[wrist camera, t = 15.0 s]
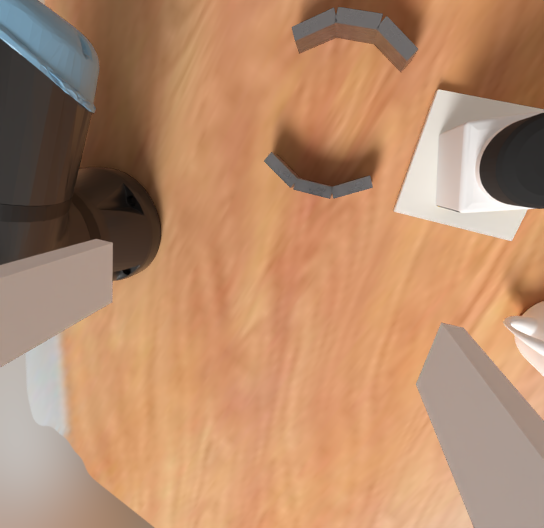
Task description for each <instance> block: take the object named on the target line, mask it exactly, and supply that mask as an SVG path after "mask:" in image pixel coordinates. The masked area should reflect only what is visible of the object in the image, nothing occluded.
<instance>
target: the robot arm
mask: <svg viewBox="0 0 544 528" xmlns="http://www.w3.org/2000/svg"><path fill="white" fill-rule="evenodd" d="M98 75H99V59H98V56H97V53H96V51H95V49H94V47H93V46H92V44H91V43H90V42H89V40H88V39H87V38H86V37H85V36H84V35H83V34H82V33H81V32H80V31H78V30H77V29H76V28H75V27H73V26H72V25H71V24H69V23H68V22H67V21H66V20H64V19H63V18H62V17H60V16H59V15H57V14H56V13H55V12H53V11H52V10H51V9H49V8H48V7H47V6H45V5H44V4H42V3H41V2H40V1H38V0H0V367H2V366H4V365H5V364H7V363H9V362H11V361H12V360H14V359H15V358H17V357H19V356H21V355H23V354H24V353H26V352H28V351H29V350H31V349H33V348H35V347H36V346H38V345H40V344H41V343H43V342H45V341H47V340H48V339H50V338H52V337H53V336H55V335H57V334H59V333H60V332H62V331H64V330H65V329H67V328H69V327H70V326H72V325H74V324H76V323H77V322H79V321H81V320H82V319H84V318H86V317H88V316H89V315H91V314H93V313H94V312H96V311H98V310H100V309H101V308H103V307H105V306H106V305H108V304H110V303H112V281H116V280H122V279H125V278H128V277H130V276H133V275H135V274H137V273H139V272H141V271H143V270H144V269H145V268H146V267H148V266H149V264H150V263H151V262H152V261H153V259H154V258H155V256H156V253H157V251H158V248H159V244H160V236H161V230H160V221H159V217H158V213H157V210H156V208H155V205H154V203H153V201H152V199H151V198H150V196H149V195H148V193H147V192H146V190H145V189H144V188H143V187H142V186H141V185H140V184H139V183H138V182H137V181H136V180H135V179H133V178H132V177H131V176H129V175H127V174H126V173H124V172H121V171H119V170H116V169H112V168H101V167H88V168H82V169H79V166H80V162H81V158H82V153H83V149H84V145H85V140H86V136H87V131H88V127H89V123H90V118H91V114H92V113H95V110H96V108H95V106H94V98H95V92H96V87H97V81H98ZM416 386H417V388H418V391H419V393H420V395H421V398H422V400H423V403H424V405H425V408H426V410H427V413H428V415H429V418H430V420H431V423H432V425H433V428H434V430H435V433H436V435H437V438H438V440H439V443H440V445H441V447H442V450H443V452H444V455H445V457H446V460H447V462H448V465H449V467H450V470H451V472H452V475H453V477H454V480H455V482H456V485H457V487H458V490H459V492H460V495H461V497H462V499H463V502H464V504H465V507H466V509H467V512H468V514H469V517H470V519H471V522H472V524H473V527H474V528H544V421H543V419H542V418H541V417H540V416H539V415H538V414H537V412H536V411H535V410H534V409H533V408H532V407H531V405H530V404H529V403H528V402H527V401H526V400H525V399H524V397H523V396H522V395H521V394H520V393H519V392H518V390H517V389H516V388H515V387H514V386H513V385H512V383H511V382H510V381H509V380H508V379H507V378H506V376H505V375H504V374H503V373H502V372H501V371H500V370H499V368H498V367H497V366H496V365H495V364H494V363H493V361H492V360H491V359H490V358H489V357H488V356H487V354H486V353H485V352H484V351H483V350H482V349H481V347H480V346H479V345H478V344H477V343H476V342H475V341H474V339H473V338H472V337H471V336H470V335H469V334H468V332H467V331H466V330H465V329H464V328H462V327H458V326H454V325H450V324H445V323H441V325H440V327H439V329H438V332H437V334H436V337H435V339H434V342H433V344H432V346H431V349H430V351H429V354H428V356H427V359H426V361H425V363H424V366H423V368H422V371H421V373H420V375H419V378H418V380H417V383H416Z"/></svg>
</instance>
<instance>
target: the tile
mask: <svg viewBox="0 0 544 528" xmlns="http://www.w3.org/2000/svg"><path fill="white" fill-rule="evenodd" d="M540 111H544V109H539V108H534V107H529V106H524V105H518V104H513V103H508V102H503V101H497V100H492V99H487V98H481V97H476V96H471V95H466V94H460V93H455V92H450V91H444V90H439V89H438V90H437V91H436V92H435V95H434V98H433V101H432V103H431V106H430V109H429V112H428V114H427V117H426V120H425V123H424V126H423V128H422V131H421V134H420V137H419V140H418V142H417V145H416V148H415V151H414V153H413V156H412V159H411V162H410V165H409V167H408V170H407V173H406V176H405V179H404V181H403V184H402V187H401V190H400V192H399V195H398V198H397V201H396V204H395V206H394V209H393V211H394V212H398V213H402V214H406V215H410V216H414V217H418V218H422V219H426V220H430V221H433V222H437V223H441V224H445V225H449V226H453V227H457V228H461V229H465V230H469V231H473V232H477V233H481V234H485V235H489V236H493V237H497V238H501V239H505V240H509V241H512V240H513V238H514V236H515V234H516V232H517V230H518V228H519V226H520V224H521V222H522V220H523V218H524V216H525V214H526V212H527V210H528V209H520V210H505V211H489V212H473V213H460V212H456V211H453V210H449V209H445V208H442V207H438V206H437V205H436V184H437V162H438V140H439V135H440V134H441V133H443V132H445V131H448V130H450V129H452V128H454V127H456V126H458V125H460V124H463V123H465V122H467V121H470V120H478V119H486V118H494V117H501V116H509V115H517V114H525V113H533V112H540Z"/></svg>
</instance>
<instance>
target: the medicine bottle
mask: <svg viewBox="0 0 544 528" xmlns="http://www.w3.org/2000/svg"><path fill="white" fill-rule="evenodd" d="M436 205H437V206H438V207H442V208H445V209H449V210H453V211H456V212H460V213H473V212H489V211H505V210H520V209H536V208H537V209H542V208H544V111H540V112H533V113H525V114H517V115H509V116H501V117H494V118H486V119H478V120H470V121H467V122H465V123H463V124H460V125H458V126H456V127H454V128H452V129H450V130H448V131H445V132H443V133H441V134H440V135H439V140H438V162H437V184H436Z"/></svg>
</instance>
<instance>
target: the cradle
mask: <svg viewBox="0 0 544 528" xmlns="http://www.w3.org/2000/svg"><path fill="white" fill-rule="evenodd" d="M382 16H383V14H381V13H375V12H368V11H362V10H356V9H349V8H343V7H338V10H337V14H336V15H335V10H334V8H332V9H330V10H327V11H325V12H323V13H321V14H319V15H317V16H315V17H312V18H310V19H308V20H306V21H304V22H302V23H300V24H297V25H295V26H293V27H292V30H293V35H294V39H295V42H296V45H297V48H298V51H299V54H300V53H302V52H304V51H307V50H309V49H311V48H313V47H316V46H318V45H320V44H323V43H325V42H327V41H329V40H332V39H334V38H342V39H348V40H354V41H359V42H365V43H371V44H374V45H375V46H376V47H377V48H378V49H379V50H380V51H381V52H382V53H383V54H384V55H385V56H386V57H387V58H388V60H389V61H390V62H391V63H392V64H393V65H394V66H395V67H396V68H397V69H398V70H399V71H400V72H402V71H403V70H404V68H405V67H406V66H407V65H408V64H409V63H410V62H411V61H412V59H413V57H414V55H415V54H416V52H417V50H418V48H417V47H416V46H415V45H414V44H413V43H412V42H411V41H410V40H409V39H408V38H407V37H406V35H405V34H404V33H403V32H402V31H401V30H400V29H399V28H398V27H397V26H396V25H395V24H394V23H393V22H392V21H391V20H390V19H389V18H388V17H387V16H386V17H385V18H384V20H383V21H382V22H381V20H382ZM264 162H265V163H266V164H267V165H268V166H269V167H270V168H271V169H272V170H273V171H274V172H275V173H276V174H277V175H278V176H279V177H280V178H281V179H282V180H283V181H284V182H285V183H286V184H287V185H288V186H289V187H290V188H292V187H294V190H297V191H301V192H305V193H309V194H313V195H317V196H321V197H325V198H329V199H330V198H331V195H332V194H333V198H337V197H341V196H345V195H348V194H352V193H355V192H359V191H362V190H366V189H369V188H373V186H372V182H371V177H370V176H366V177H363V178H359V179H356V180H353V181H349V182H346V183H342V184H339V185H336V186H329V185H325V184H321V183H317V182H313V181H309V180H305V179H301V178H300V177H299V176H298V175H297V174H296V173H295V172H294V171H293V170H292V169H291V168H290V167H289V166H288V165H287V164H286V163H285V162H284V161H283V160H282V159H281V158H280V157H279V156H278V155H277V154H275V153H272V152H271V153H270V154H269V156H268V157H267V158H266V159H265V160H264Z"/></svg>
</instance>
